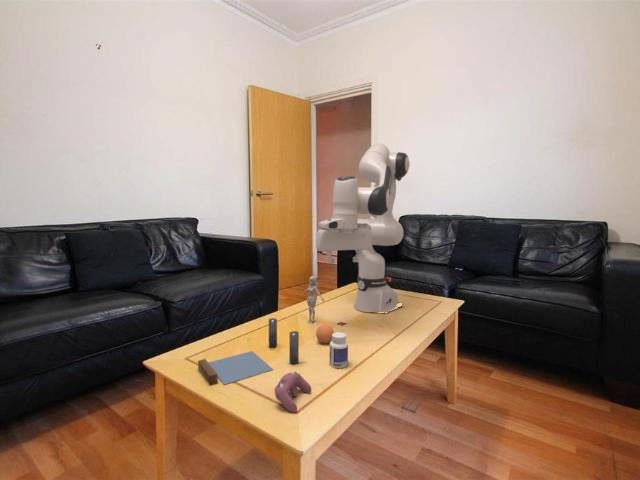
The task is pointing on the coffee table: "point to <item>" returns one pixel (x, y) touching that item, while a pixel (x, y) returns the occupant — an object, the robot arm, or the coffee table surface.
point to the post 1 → (272, 333)
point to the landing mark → (239, 367)
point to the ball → (324, 333)
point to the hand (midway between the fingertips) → (343, 262)
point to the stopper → (207, 372)
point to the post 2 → (294, 347)
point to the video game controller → (290, 389)
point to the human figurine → (312, 297)
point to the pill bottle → (338, 350)
